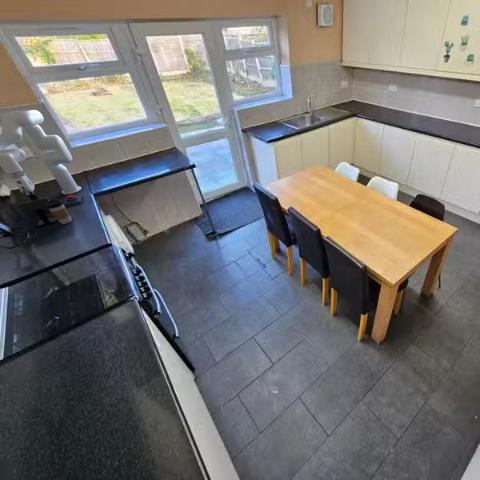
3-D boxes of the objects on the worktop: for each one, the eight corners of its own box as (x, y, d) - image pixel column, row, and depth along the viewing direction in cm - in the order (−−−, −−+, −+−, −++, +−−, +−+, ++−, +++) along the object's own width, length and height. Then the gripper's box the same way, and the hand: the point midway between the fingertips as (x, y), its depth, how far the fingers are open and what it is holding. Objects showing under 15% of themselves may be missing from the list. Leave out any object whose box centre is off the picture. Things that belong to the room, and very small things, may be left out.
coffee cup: (65, 225, 176) (51, 205, 166) (55, 224, 177) (40, 204, 168) (77, 218, 182) (64, 199, 173) (67, 217, 184) (53, 198, 174)
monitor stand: (39, 222, 180) (29, 208, 173) (58, 217, 184) (48, 204, 178) (38, 227, 175) (27, 213, 169) (57, 222, 179) (47, 208, 173)
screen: (29, 216, 174) (18, 203, 168) (56, 210, 180) (46, 196, 174) (28, 218, 173) (17, 204, 166) (56, 211, 179) (46, 197, 173)
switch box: (66, 201, 202) (63, 196, 200) (81, 197, 206) (78, 193, 204) (66, 207, 195) (62, 202, 193) (81, 203, 199) (78, 198, 197)
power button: (68, 197, 199) (66, 195, 198) (74, 196, 201) (72, 194, 200) (68, 199, 197) (66, 197, 196) (74, 198, 198) (72, 196, 197)
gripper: (22, 176, 160) (42, 203, 171) (26, 168, 170) (44, 194, 181) (5, 179, 157) (26, 207, 168) (10, 171, 167) (30, 197, 178)
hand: (36, 200), depth 175 cm, fingers closed
